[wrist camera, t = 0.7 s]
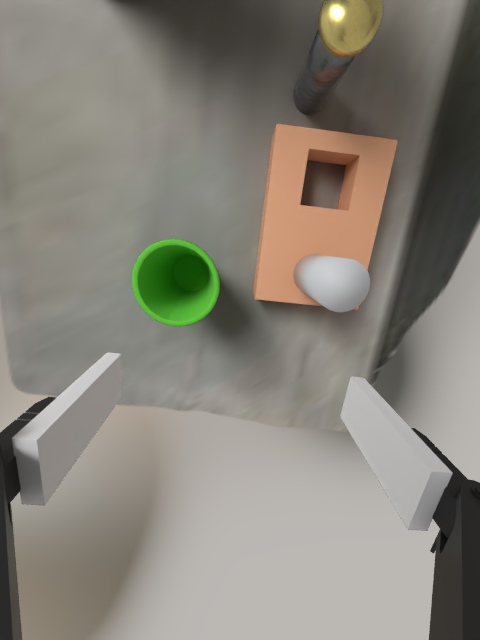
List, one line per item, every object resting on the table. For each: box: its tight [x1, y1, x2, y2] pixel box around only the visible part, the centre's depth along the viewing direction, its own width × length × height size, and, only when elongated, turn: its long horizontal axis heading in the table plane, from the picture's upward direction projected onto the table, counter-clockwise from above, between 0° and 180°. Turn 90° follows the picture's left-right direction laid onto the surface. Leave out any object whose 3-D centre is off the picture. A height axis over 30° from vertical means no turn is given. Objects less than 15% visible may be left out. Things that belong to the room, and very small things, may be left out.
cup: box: [132, 239, 220, 326], centre depth 33 cm, size 9×9×11 cm
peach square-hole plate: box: [253, 124, 398, 312], centre depth 30 cm, size 20×14×14 cm
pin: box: [294, 0, 383, 114], centre depth 27 cm, size 5×5×12 cm
